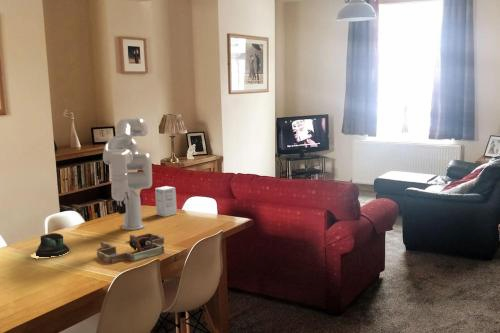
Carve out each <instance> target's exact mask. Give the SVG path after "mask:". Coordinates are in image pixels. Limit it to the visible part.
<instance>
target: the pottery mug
mask: <svg viewBox="0 0 500 333" xmlns="http://www.w3.org/2000/svg"><path fill="white" fill-rule="evenodd" d="M148 240H149V241H150V242H151V244H150V245H147V244H146V241H148ZM128 244H129V246H130V247H131V248H132V249H133V251H139V252H143V251H146V250H150V249H152V248H153V247H154V245H153V242H152V240H151V239H150V238H147V237H141V238H139V239H138V241H136V240H131V241H130V240H129V243H128ZM139 252H138V253H139Z"/></svg>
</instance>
